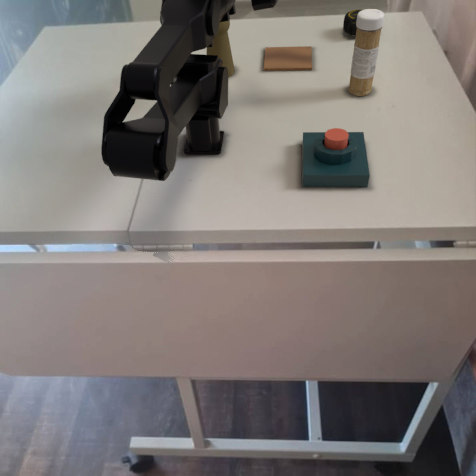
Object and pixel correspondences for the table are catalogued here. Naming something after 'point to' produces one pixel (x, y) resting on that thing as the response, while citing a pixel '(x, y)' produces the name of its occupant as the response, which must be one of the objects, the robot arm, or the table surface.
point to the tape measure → (351, 22)
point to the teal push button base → (334, 162)
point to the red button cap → (336, 139)
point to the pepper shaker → (223, 47)
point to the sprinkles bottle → (365, 51)
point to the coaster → (287, 58)
